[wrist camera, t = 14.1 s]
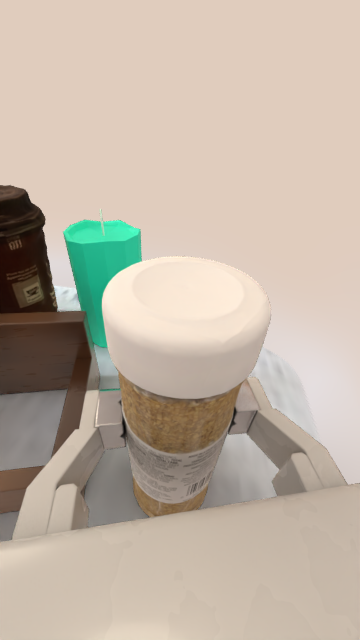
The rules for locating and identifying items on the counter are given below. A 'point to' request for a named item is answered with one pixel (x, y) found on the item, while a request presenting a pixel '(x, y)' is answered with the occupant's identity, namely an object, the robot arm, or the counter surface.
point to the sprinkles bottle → (180, 369)
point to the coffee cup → (23, 256)
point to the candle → (99, 263)
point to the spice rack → (45, 377)
